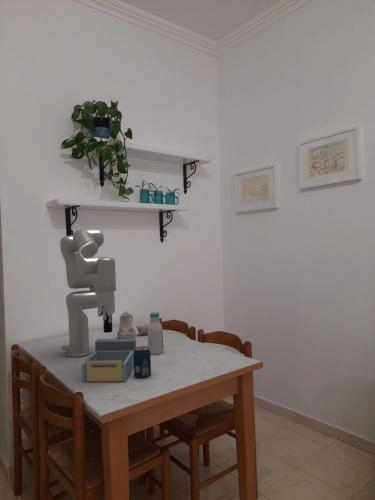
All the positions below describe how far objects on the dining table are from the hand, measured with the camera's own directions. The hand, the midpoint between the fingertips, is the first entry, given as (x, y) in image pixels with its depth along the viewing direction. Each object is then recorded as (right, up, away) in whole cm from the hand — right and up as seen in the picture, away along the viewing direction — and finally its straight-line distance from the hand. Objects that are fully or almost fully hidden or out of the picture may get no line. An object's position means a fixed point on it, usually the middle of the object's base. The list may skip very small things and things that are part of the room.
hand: (108, 331), depth 147 cm
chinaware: (0, -18, +62) cm, 64 cm away
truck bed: (+1, -19, +4) cm, 19 cm away
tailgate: (0, -18, -7) cm, 19 cm away
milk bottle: (+17, -18, +32) cm, 40 cm away
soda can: (+14, -19, -1) cm, 24 cm away
